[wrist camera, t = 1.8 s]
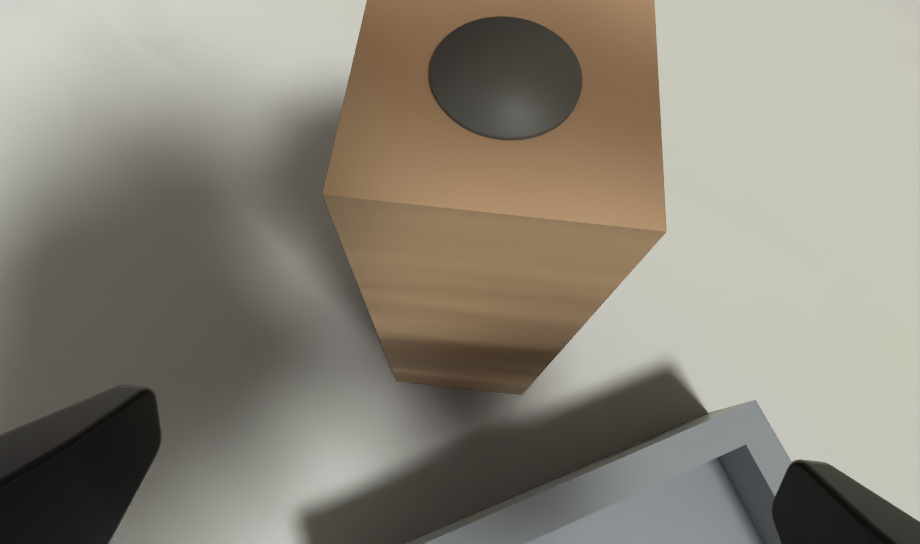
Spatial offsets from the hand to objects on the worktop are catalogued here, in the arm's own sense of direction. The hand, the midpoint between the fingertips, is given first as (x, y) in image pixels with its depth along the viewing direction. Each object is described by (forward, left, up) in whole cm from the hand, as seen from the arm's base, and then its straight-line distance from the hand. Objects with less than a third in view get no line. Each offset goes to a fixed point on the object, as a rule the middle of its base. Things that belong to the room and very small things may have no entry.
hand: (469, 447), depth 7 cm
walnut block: (+5, -2, -11) cm, 12 cm away
